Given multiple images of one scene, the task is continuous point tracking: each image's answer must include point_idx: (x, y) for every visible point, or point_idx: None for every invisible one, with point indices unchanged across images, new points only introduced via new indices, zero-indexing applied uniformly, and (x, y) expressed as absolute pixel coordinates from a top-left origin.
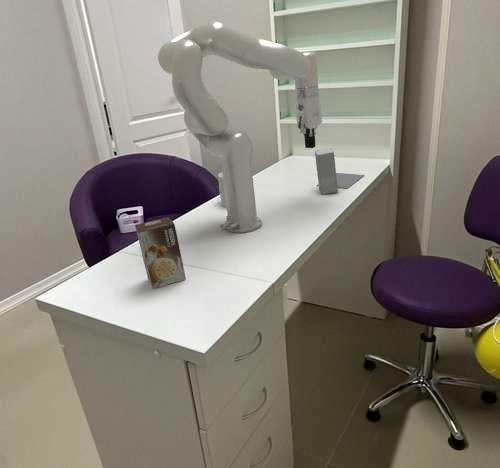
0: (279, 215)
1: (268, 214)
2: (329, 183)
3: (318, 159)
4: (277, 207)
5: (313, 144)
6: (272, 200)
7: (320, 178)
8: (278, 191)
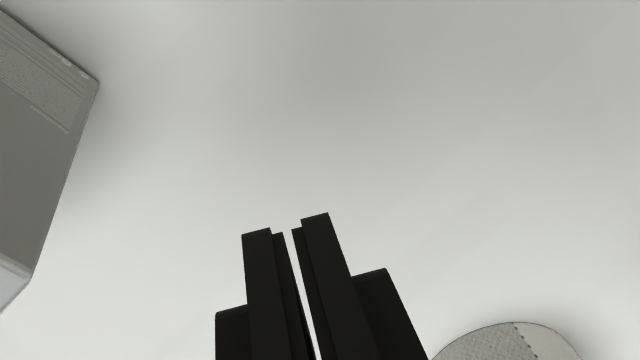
0: (575, 55)
1: (585, 124)
2: (21, 60)
3: (40, 236)
4: (465, 163)
5: (331, 242)
6: None
7: (78, 133)
8: None
